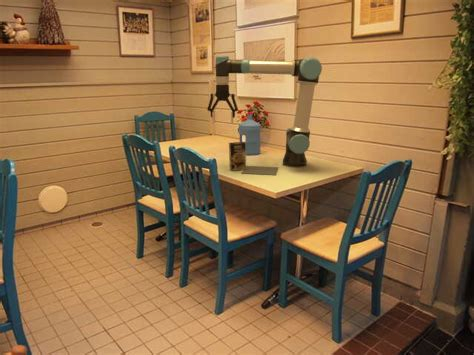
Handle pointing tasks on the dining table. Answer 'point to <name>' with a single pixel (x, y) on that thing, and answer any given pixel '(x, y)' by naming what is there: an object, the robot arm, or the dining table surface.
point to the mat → (260, 170)
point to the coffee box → (237, 156)
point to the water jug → (251, 135)
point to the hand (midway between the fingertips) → (222, 123)
